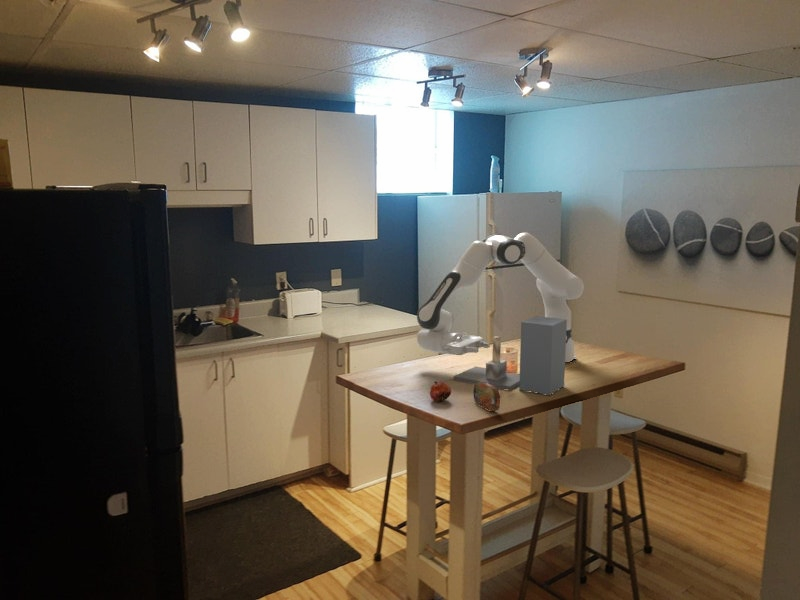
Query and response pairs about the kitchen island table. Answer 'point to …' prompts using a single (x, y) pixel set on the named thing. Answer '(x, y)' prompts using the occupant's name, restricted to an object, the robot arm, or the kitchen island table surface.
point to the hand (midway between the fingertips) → (483, 348)
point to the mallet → (496, 362)
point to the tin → (486, 396)
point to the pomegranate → (440, 391)
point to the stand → (542, 354)
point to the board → (480, 375)
